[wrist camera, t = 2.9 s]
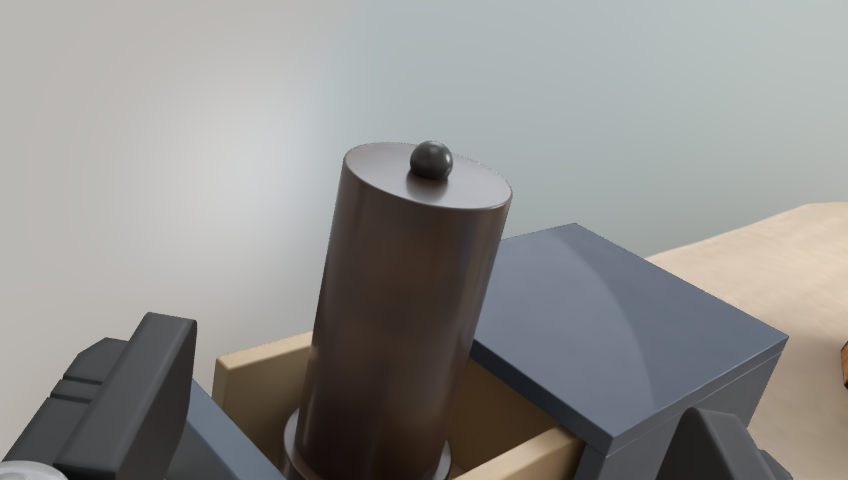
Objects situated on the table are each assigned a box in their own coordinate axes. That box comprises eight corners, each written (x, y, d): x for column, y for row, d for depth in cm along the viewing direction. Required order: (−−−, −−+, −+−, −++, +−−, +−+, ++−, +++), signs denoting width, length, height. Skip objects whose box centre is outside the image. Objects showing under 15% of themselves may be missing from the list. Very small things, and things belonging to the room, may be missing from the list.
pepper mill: (273, 606, 25) (353, 169, 19) (261, 477, 29) (321, 98, 24) (446, 595, 26) (567, 192, 20) (407, 475, 31) (497, 121, 25)
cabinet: (540, 631, 28) (613, 437, 25) (339, 439, 35) (374, 268, 32) (718, 490, 38) (789, 335, 34) (531, 361, 45) (575, 222, 41)
